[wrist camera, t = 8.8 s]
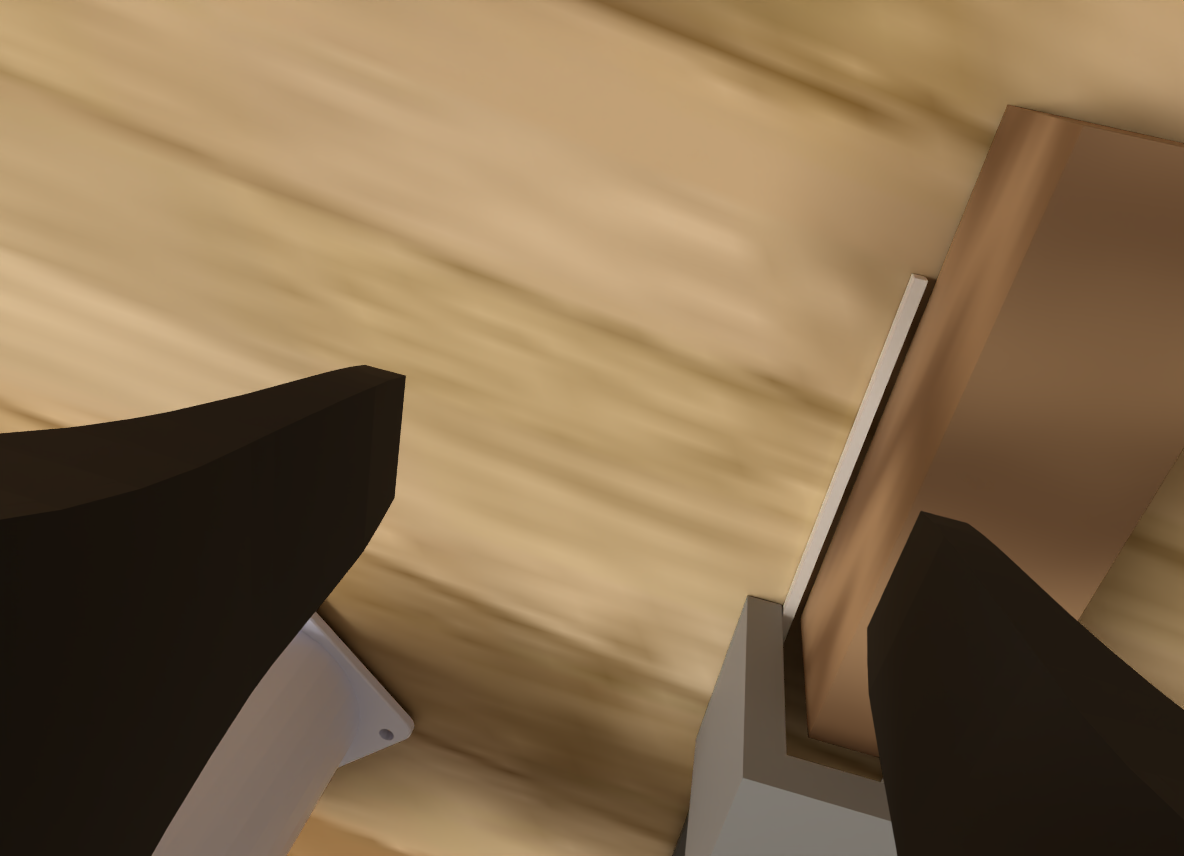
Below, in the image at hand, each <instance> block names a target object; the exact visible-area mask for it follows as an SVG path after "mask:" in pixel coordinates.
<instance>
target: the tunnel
mask: <svg viewBox="0 0 1184 856" xmlns="http://www.w3.org/2000/svg"><path fill="white" fill-rule="evenodd" d="M927 283H928V280H927V279H926V277H925V276H921V275H917V274H912V275H911V277H910V280H909V283H908V285H907V288H906V290H905V293H904V296H903V298H902V301H901V303H900V306H899V308H898V311H897V314H896V316H895V319H894V321H893V324H892V326H891V329H890V332H889V334H888V337H887V339H886V342H885V345H884V347H883V350H882V352H881V355H880V357H879V360H878V363H877V365H876V368H875V370H874V373H873V375H872V378H871V381H870V383H869V386H868V388H867V391H866V393H865V396H864V399H863V401H862V404H861V406H860V409H859V412H858V414H857V417H856V419H855V422H854V424H853V427H852V430H851V432H850V435H849V437H848V440H847V442H846V445H845V448H844V450H843V453H842V455H841V458H840V460H839V463H838V466H837V468H836V471H835V473H834V476H833V479H832V481H831V484H830V486H829V489H828V491H827V494H826V497H825V499H824V502H823V504H822V507H821V509H820V512H819V515H818V517H817V520H816V522H815V525H814V528H813V530H812V533H811V535H810V538H809V540H808V543H807V546H806V548H805V551H804V553H803V556H802V558H801V561H800V564H799V566H798V569H797V571H796V574H795V576H794V579H793V582H792V584H791V587H790V589H789V592H788V595H787V597H786V600H785V602H784V605H783V607H782V605H780V604H776V603H773V602H769V601H765V600H762V599H758V598H754V597H751V596H747V598H746V601H745V604H744V607H743V610H742V612H741V615H740V618H739V621H738V624H737V626H736V629H735V632H734V635H733V637H732V640H731V643H730V646H729V649H728V651H727V654H726V657H725V660H724V663H723V665H722V668H721V671H720V674H719V676H718V679H717V682H716V685H715V688H714V690H713V693H712V696H711V699H710V702H709V704H708V707H707V710H706V713H705V715H704V718H703V721H702V724H701V727H700V729H699V732H698V735H697V738H696V744H695V755H694V765H693V776H692V786H691V797H690V807H689V818H688V829H687V839H686V850H685V856H897V851H896V846H895V840H894V835H893V829H892V824H891V818H890V813H889V807H888V802H887V796H886V791H885V785H884V780H883V779H882V781H881V782H878V781H875V780H871V779H868V778H865V777H861V776H858V775H854V774H851V773H847V772H844V771H840V770H837V769H834V768H830V767H827V766H823V765H820V764H816V763H813V762H809V761H806V760H803V759H799V758H796V757H792V756H789V755H787V753H786V723H785V693H784V663H783V643H784V641H785V638H786V636H787V633H788V631H789V628H790V626H791V623H792V621H793V618H794V616H795V613H796V611H797V608H798V606H799V603H800V601H801V598H802V596H803V593H804V591H805V588H806V586H807V583H808V581H809V578H810V576H811V573H812V571H813V568H814V566H815V563H816V561H817V558H818V556H819V553H820V551H821V548H822V546H823V543H824V541H825V538H826V536H827V533H828V531H829V528H830V526H831V523H832V521H833V518H834V516H835V513H836V511H837V508H838V506H839V503H840V501H841V498H842V496H843V493H844V491H845V488H846V486H847V483H848V481H849V478H850V476H851V473H852V471H853V468H854V466H855V463H856V461H857V458H858V456H859V453H860V451H861V448H862V446H863V443H864V441H865V438H866V436H867V433H868V431H869V428H870V426H871V423H872V421H873V418H874V416H875V413H876V410H877V408H878V405H879V403H880V400H881V398H882V395H883V393H884V390H885V388H886V385H887V383H888V380H889V378H890V375H891V373H892V370H893V368H894V365H895V363H896V360H897V358H898V355H899V353H900V350H901V348H902V345H903V343H904V340H905V338H906V335H907V333H908V330H909V328H910V325H911V323H912V320H913V318H914V315H915V313H916V310H917V308H918V305H919V303H920V300H921V298H922V295H923V293H924V290H925V288H926V285H927Z"/></svg>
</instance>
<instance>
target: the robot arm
mask: <svg viewBox="0 0 1184 856" xmlns="http://www.w3.org/2000/svg"><path fill="white" fill-rule="evenodd" d="M405 379H406V376H405V375H401V374H397V373H393V372H390V371H386V370H382V369H378V368H374V367H371V366H367V365H361V366H353V367H348V368H343V369H339V370H334V371H330V372H326V373H322V374H319V375H315V376H311V377H307V378H304V379H300V380H296V381H293V382H289V383H285V384H281V385H278V386H274V387H270V388H267V389H263V390H259V391H256V392H252V393H248V394H244V395H240V396H236V397H232V398H227V399H223V400H219V401H214V402H210V403H206V404H201V405H197V406H193V407H188V408H184V409H180V410H175V411H171V412H166V413H161V414H156V415H150V416H145V417H139V418H133V419H127V420H120V421H113V422H107V423H100V424H93V425H86V426H78V427H70V428H60V429H48V430H36V431H24V432H12V433H1V434H0V856H287V854H288V852H289V851H290V849H291V847H292V846H293V844H294V842H295V840H296V839H297V837H298V835H299V834H300V832H301V830H302V828H303V827H304V825H305V823H306V821H307V820H308V818H309V816H310V815H311V813H312V811H313V809H314V808H315V806H316V804H317V803H318V801H319V799H320V797H321V796H322V794H323V792H324V791H325V789H326V787H327V785H328V784H329V782H330V780H331V778H332V777H333V775H334V773H335V772H336V770H337V768H339V767H341V766H343V765H346V764H348V763H351V762H353V761H355V760H358V759H360V758H363V757H365V756H367V755H370V754H372V753H375V752H377V751H379V750H382V749H384V748H386V747H389V746H391V745H394V744H396V743H398V742H401V741H403V740H406V739H407V738H409V737H410V735H411V733H412V731H413V729H414V722H413V720H412V719H411V717H410V716H409V715H408V714H407V713H406V712H405V711H404V709H403V708H402V707H401V706H400V705H399V704H398V703H397V702H396V701H395V699H394V698H393V697H392V696H391V695H390V694H389V693H388V692H387V691H386V689H385V688H384V687H383V686H382V685H381V684H380V683H379V682H378V680H377V679H376V678H375V677H374V676H373V675H372V674H371V673H370V672H369V670H368V669H367V668H366V667H365V666H364V665H363V664H362V663H361V662H360V660H359V659H358V658H357V657H356V656H355V655H354V654H353V653H352V651H351V650H350V649H349V648H348V647H347V646H346V645H345V644H344V643H343V641H342V640H341V639H340V638H339V637H338V636H337V635H336V634H335V633H334V631H333V630H332V629H331V628H330V627H329V626H328V625H327V624H326V623H325V621H324V620H323V619H322V618H321V617H320V616H319V615H318V614H317V612H316V610H317V609H318V608H319V607H320V605H321V604H322V603H323V602H324V600H325V599H326V598H327V597H328V596H329V594H330V593H331V592H332V591H333V589H334V588H335V587H336V586H337V584H338V583H339V582H340V580H341V579H342V578H343V577H344V575H345V574H346V573H347V572H348V570H349V569H350V568H351V567H352V565H353V564H354V563H355V562H356V560H357V559H358V558H359V556H360V555H361V554H362V552H363V551H364V549H365V548H366V546H367V545H368V543H369V541H370V540H371V538H372V536H373V535H374V533H375V531H376V530H377V528H378V526H379V524H380V523H381V521H382V519H383V517H384V516H385V514H386V512H387V510H388V508H389V507H390V505H391V503H392V501H393V500H394V497H395V486H396V476H397V465H398V454H399V443H400V433H401V422H402V411H403V401H404V390H405ZM867 668H868V692H869V699H870V706H871V712H872V718H873V723H874V729H875V735H876V741H877V747H878V752H879V758H880V763H881V769H882V774H883V780H884V785H885V791H886V796H887V802H888V807H889V813H890V818H891V824H892V829H893V835H894V840H895V846H896V851H897V856H1184V710H1183V709H1182V708H1180V707H1179V706H1178V705H1177V704H1175V703H1174V702H1173V701H1172V700H1170V699H1169V698H1168V697H1166V696H1165V695H1164V694H1163V693H1161V692H1160V691H1159V690H1158V689H1156V688H1155V687H1154V686H1153V685H1151V684H1150V683H1149V682H1148V681H1147V680H1145V679H1144V678H1143V677H1142V676H1141V675H1139V674H1138V673H1137V672H1136V671H1135V670H1133V669H1132V668H1131V667H1130V666H1129V665H1127V664H1126V663H1125V662H1124V661H1123V660H1122V659H1120V658H1119V657H1118V656H1117V655H1116V654H1114V653H1113V652H1112V651H1111V650H1110V649H1108V648H1107V647H1106V646H1105V645H1104V644H1103V643H1102V642H1100V641H1099V640H1098V639H1097V638H1096V637H1095V636H1094V635H1093V634H1091V633H1090V632H1089V631H1088V630H1087V629H1086V628H1085V627H1084V626H1082V625H1081V624H1080V623H1079V622H1078V621H1077V620H1076V619H1075V618H1074V617H1073V616H1071V615H1070V614H1069V613H1068V612H1067V611H1066V610H1065V609H1064V608H1063V607H1062V606H1061V605H1059V604H1058V603H1057V602H1056V601H1055V600H1054V599H1053V598H1052V597H1051V596H1050V595H1049V594H1048V593H1047V592H1045V591H1044V590H1043V589H1042V588H1041V587H1040V586H1039V585H1038V584H1037V583H1036V582H1035V581H1034V580H1033V579H1032V578H1030V577H1029V576H1028V575H1027V574H1026V573H1025V572H1024V571H1023V570H1022V569H1021V568H1020V567H1019V566H1018V565H1017V564H1015V563H1014V562H1013V561H1012V560H1011V559H1010V558H1009V557H1008V556H1007V555H1006V554H1005V553H1004V552H1002V551H1001V550H1000V549H999V548H998V547H997V546H996V545H995V544H993V543H992V542H991V541H990V540H989V539H988V538H986V537H985V536H984V535H983V534H982V533H980V532H979V531H978V530H977V529H975V528H974V527H972V526H971V525H970V524H968V523H966V522H962V521H958V520H954V519H951V518H947V517H943V516H939V515H935V514H932V513H928V512H924V511H920V513H919V515H918V518H917V520H916V522H915V524H914V526H913V529H912V531H911V533H910V535H909V537H908V540H907V542H906V544H905V546H904V548H903V550H902V553H901V555H900V557H899V559H898V561H897V564H896V566H895V568H894V570H893V572H892V575H891V577H890V579H889V581H888V583H887V585H886V588H885V590H884V592H883V594H882V596H881V599H880V601H879V603H878V605H877V607H876V609H875V612H874V614H873V616H872V618H871V620H870V623H869V625H868V627H867ZM389 730H390V731H389Z"/></svg>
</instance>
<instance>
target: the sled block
mask: <svg viewBox="0 0 1184 856" xmlns="http://www.w3.org/2000/svg"><path fill="white" fill-rule="evenodd" d="M1183 448H1184V143H1180V142H1175V141H1171V140H1166V139H1162V138H1157V137H1153V136H1148V135H1144V134H1139V133H1134V132H1130V131H1125V130H1121V129H1116V128H1112V127H1107V126H1103V125H1098V124H1093V123H1089V122H1084V121H1080V120H1075V119H1071V118H1066V117H1062V116H1057V115H1052V114H1048V113H1043V112H1039V111H1034V110H1030V109H1025V108H1021V107H1016V106H1011V105H1007V107H1006V110H1005V112H1004V115H1003V117H1002V120H1001V122H1000V125H999V127H998V130H997V132H996V135H995V137H994V139H993V142H992V144H991V147H990V149H989V152H988V154H987V157H986V159H985V162H984V164H983V167H982V169H981V172H980V174H979V177H978V179H977V182H976V184H975V186H974V189H973V191H972V194H971V196H970V199H969V201H968V204H967V206H966V209H965V211H964V214H963V216H962V219H961V221H960V224H959V226H958V229H957V231H956V233H955V236H954V238H953V241H952V243H951V246H950V248H949V251H948V253H947V256H946V258H945V261H944V263H943V266H942V268H941V271H940V273H939V276H938V278H937V281H936V283H935V285H934V288H933V290H932V293H931V295H930V298H929V300H928V303H927V305H926V308H925V310H924V313H923V315H922V318H921V320H920V323H919V325H918V328H917V330H916V332H915V335H914V337H913V340H912V342H911V345H910V347H909V350H908V352H907V355H906V357H905V360H904V362H903V365H902V367H901V370H900V372H899V375H898V377H897V379H896V382H895V384H894V387H893V389H892V392H891V394H890V397H889V399H888V402H887V404H886V407H885V409H884V412H883V414H882V417H881V419H880V422H879V424H878V426H877V429H876V431H875V434H874V436H873V439H872V441H871V444H870V446H869V449H868V451H867V454H866V456H865V459H864V461H863V464H862V466H861V469H860V471H859V473H858V476H857V478H856V481H855V483H854V486H853V488H852V491H851V493H850V496H849V498H848V501H847V503H846V506H845V508H844V511H843V513H842V516H841V518H840V521H839V523H838V525H837V528H836V530H835V533H834V535H833V538H832V540H831V543H830V545H829V548H828V550H827V553H826V555H825V558H824V560H823V563H822V565H821V568H820V570H819V572H818V575H817V577H816V580H815V582H814V585H813V587H812V590H811V592H810V595H809V597H808V600H807V602H806V605H805V607H804V610H803V612H802V615H801V617H800V619H801V634H802V650H803V665H804V680H805V696H806V711H807V726H808V737H809V738H813V739H816V740H820V741H823V742H827V743H830V744H834V745H837V746H841V747H844V748H848V749H851V750H854V751H858V752H861V753H865V754H868V755H872V756H875V757H879V752H878V747H877V741H876V735H875V729H874V723H873V718H872V712H871V706H870V699H869V692H868V668H867V627H868V625H869V623H870V620H871V618H872V616H873V614H874V612H875V609H876V607H877V605H878V603H879V601H880V599H881V596H882V594H883V592H884V590H885V588H886V585H887V583H888V581H889V579H890V577H891V575H892V572H893V570H894V568H895V566H896V564H897V561H898V559H899V557H900V555H901V553H902V550H903V548H904V546H905V544H906V542H907V540H908V537H909V535H910V533H911V531H912V529H913V526H914V524H915V522H916V520H917V518H918V515H919V513H920V511H924V512H928V513H932V514H935V515H939V516H943V517H947V518H951V519H954V520H958V521H962V522H966V523H968V524H970V525H971V526H972V527H974V528H975V529H977V530H978V531H979V532H980V533H982V534H983V535H984V536H985V537H986V538H988V539H989V540H990V541H991V542H992V543H993V544H995V545H996V546H997V547H998V548H999V549H1000V550H1001V551H1002V552H1004V553H1005V554H1006V555H1007V556H1008V557H1009V558H1010V559H1011V560H1012V561H1013V562H1014V563H1015V564H1017V565H1018V566H1019V567H1020V568H1021V569H1022V570H1023V571H1024V572H1025V573H1026V574H1027V575H1028V576H1029V577H1030V578H1032V579H1033V580H1034V581H1035V582H1036V583H1037V584H1038V585H1039V586H1040V587H1041V588H1042V589H1043V590H1044V591H1045V592H1047V593H1048V594H1049V595H1050V596H1051V597H1052V598H1053V599H1054V600H1055V601H1056V602H1057V603H1058V604H1059V605H1061V606H1062V607H1063V608H1064V609H1065V610H1066V611H1067V612H1068V613H1069V614H1070V615H1071V616H1073V617H1074V618H1075V619H1076V620H1077V621H1078V620H1079V618H1080V616H1081V615H1082V613H1083V611H1084V610H1085V608H1086V606H1087V605H1088V603H1089V602H1090V600H1091V598H1092V597H1093V595H1094V593H1095V592H1096V590H1097V589H1098V587H1099V585H1100V584H1101V582H1102V580H1103V579H1104V577H1105V575H1106V574H1107V572H1108V571H1109V569H1110V567H1111V566H1112V564H1113V562H1114V561H1115V559H1116V558H1117V556H1118V554H1119V553H1120V551H1121V549H1122V548H1123V546H1124V544H1125V543H1126V541H1127V540H1128V538H1129V536H1130V535H1131V533H1132V531H1133V530H1134V528H1135V526H1136V525H1137V523H1138V522H1139V520H1140V518H1141V517H1142V515H1143V513H1144V512H1145V510H1146V509H1147V507H1148V505H1149V504H1150V502H1151V500H1152V499H1153V497H1154V495H1155V494H1156V492H1157V491H1158V489H1159V487H1160V486H1161V484H1162V482H1163V481H1164V479H1165V478H1166V476H1167V474H1168V473H1169V471H1170V469H1171V468H1172V466H1173V464H1174V463H1175V461H1176V460H1177V458H1178V456H1179V455H1180V453H1181V451H1182V450H1183Z"/></svg>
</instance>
